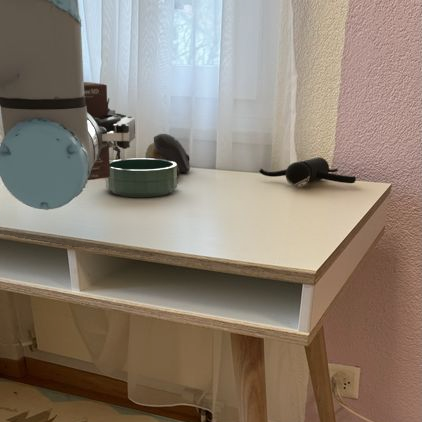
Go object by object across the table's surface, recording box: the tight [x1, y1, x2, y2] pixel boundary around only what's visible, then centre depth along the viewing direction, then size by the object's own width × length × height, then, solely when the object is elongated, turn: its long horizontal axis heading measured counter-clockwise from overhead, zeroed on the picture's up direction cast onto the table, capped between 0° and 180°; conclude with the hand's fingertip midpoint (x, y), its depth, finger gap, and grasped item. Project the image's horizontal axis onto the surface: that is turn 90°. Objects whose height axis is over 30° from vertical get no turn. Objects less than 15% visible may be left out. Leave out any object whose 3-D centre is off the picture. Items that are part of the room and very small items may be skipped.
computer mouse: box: [153, 133, 191, 173], centre depth 120 cm, size 6×9×4 cm
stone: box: [144, 142, 166, 160], centre depth 126 cm, size 6×9×5 cm, turn 145°
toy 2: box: [258, 157, 357, 188], centre depth 112 cm, size 18×4×15 cm
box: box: [84, 81, 110, 181], centre depth 81 cm, size 6×4×12 cm
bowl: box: [105, 158, 178, 198], centre depth 104 cm, size 12×12×4 cm
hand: (85, 120), depth 85 cm, fingers closed on box, 7 cm apart
